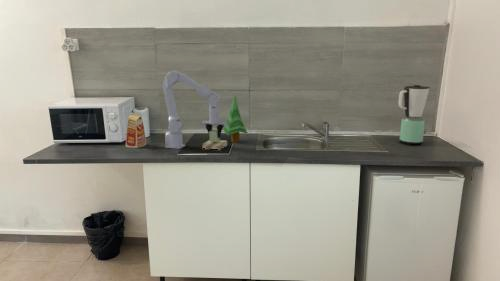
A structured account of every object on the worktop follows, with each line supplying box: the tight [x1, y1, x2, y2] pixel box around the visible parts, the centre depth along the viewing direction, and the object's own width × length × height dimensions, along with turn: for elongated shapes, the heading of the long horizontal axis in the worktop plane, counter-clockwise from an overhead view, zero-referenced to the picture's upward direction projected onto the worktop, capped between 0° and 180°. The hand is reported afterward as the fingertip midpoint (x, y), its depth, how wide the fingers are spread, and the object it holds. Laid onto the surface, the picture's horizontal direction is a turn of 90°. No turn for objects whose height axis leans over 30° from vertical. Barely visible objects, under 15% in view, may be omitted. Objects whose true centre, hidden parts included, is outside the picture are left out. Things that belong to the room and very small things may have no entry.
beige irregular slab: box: [202, 139, 228, 151], centre depth 212 cm, size 11×11×3 cm
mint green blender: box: [397, 84, 431, 146], centre depth 217 cm, size 19×13×35 cm
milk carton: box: [125, 112, 147, 149], centre depth 214 cm, size 9×9×20 cm
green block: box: [208, 129, 221, 142], centre depth 211 cm, size 4×4×6 cm
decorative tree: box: [222, 94, 248, 144], centre depth 222 cm, size 14×16×30 cm
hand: (214, 137), depth 211 cm, fingers closed on green block, 4 cm apart
